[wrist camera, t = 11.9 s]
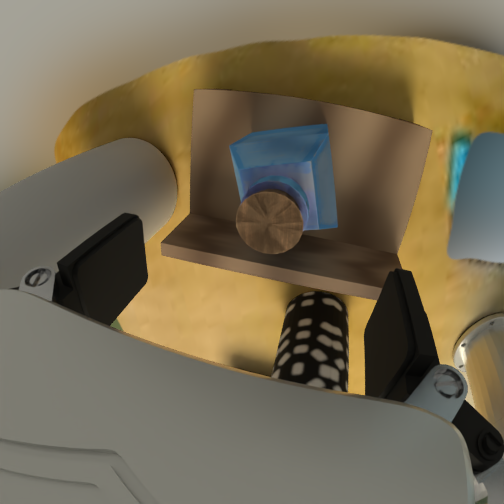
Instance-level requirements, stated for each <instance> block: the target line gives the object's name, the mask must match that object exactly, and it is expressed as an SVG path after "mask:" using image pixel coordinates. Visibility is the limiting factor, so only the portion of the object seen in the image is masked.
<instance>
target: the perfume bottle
mask: <svg viewBox="0 0 504 504" xmlns="http://www.w3.org/2000/svg"><path fill="white" fill-rule="evenodd" d="M229 147H230V152H231V157H232V161H233V166H234V171H235V176H236V180H237V185H238V190H239V195H240V199H241V205H240V207H239V208H238V212H237V215H236V227H237V229H238V232H239V234H240V236H241V238H242V239H243V240H244V241H245V243H246V244H247V245H249V246H250V247H252V248H253V249H254V250H257V251H260V252H262V253H267V254H278V253H283V252H286V251H287V250H289V249H291V248H293V247H294V246H295V245H296V244H297V242H298V241H299V240H300V238H301V235H302V233H303V231H304V230H318V229H328V228H337V227H338V224H337V209H336V196H335V185H334V175H333V166H332V157H331V149H330V141H329V133H328V126H327V124H318V125H307V126H298V127H289V128H281V129H274V130H266V131H259V132H253V133H250V134H248V135H247V136H245V137H243V138H241V139H240V140H238V141H236V142H235V143H233V144H231V145H229Z"/></svg>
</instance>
